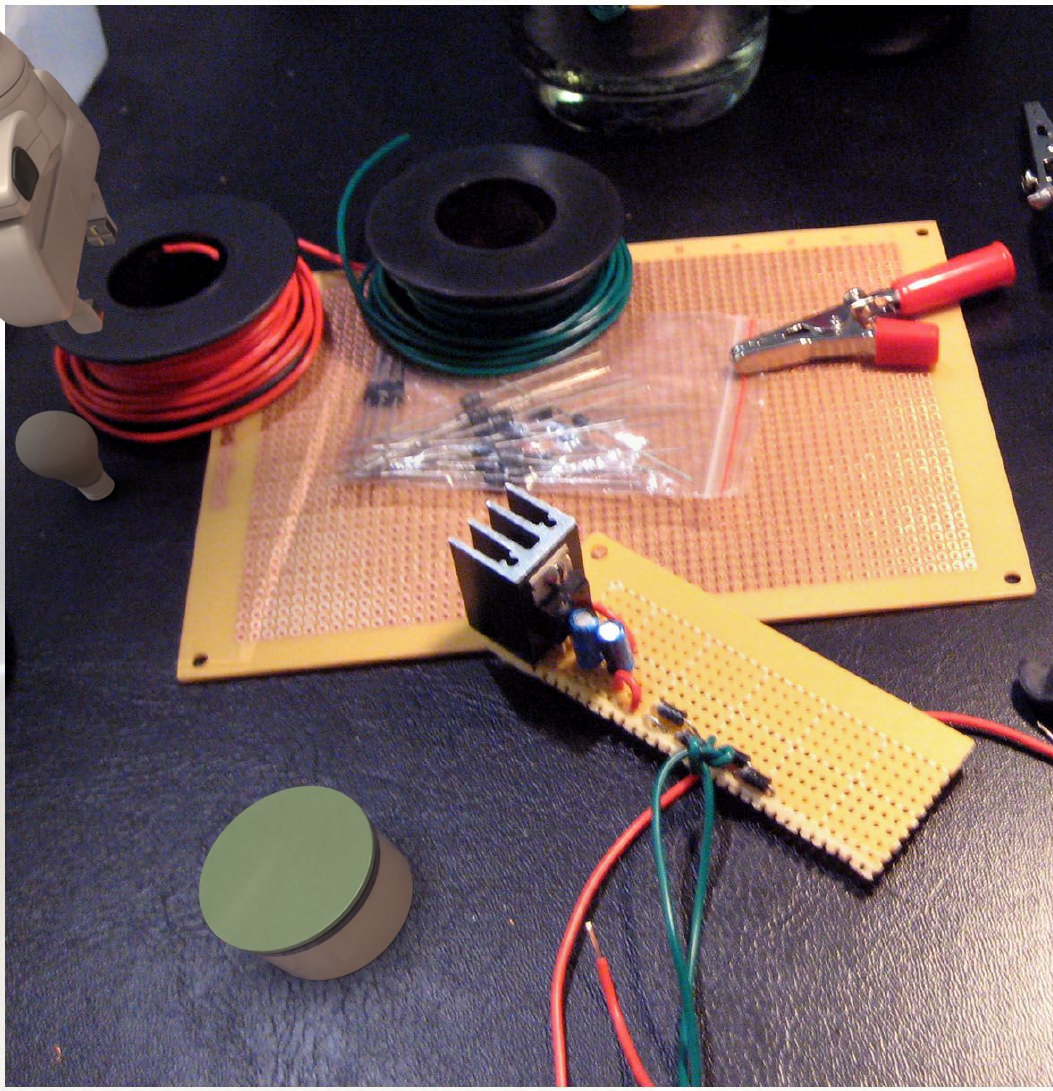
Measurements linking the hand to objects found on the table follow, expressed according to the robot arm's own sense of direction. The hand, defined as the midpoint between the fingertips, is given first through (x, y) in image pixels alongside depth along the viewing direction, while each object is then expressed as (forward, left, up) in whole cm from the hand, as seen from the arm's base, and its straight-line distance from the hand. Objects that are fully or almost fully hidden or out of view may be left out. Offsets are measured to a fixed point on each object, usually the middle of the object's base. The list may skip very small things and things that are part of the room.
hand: (99, 281), depth 89 cm
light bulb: (-15, +5, -27) cm, 32 cm away
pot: (+6, -41, -27) cm, 49 cm away
